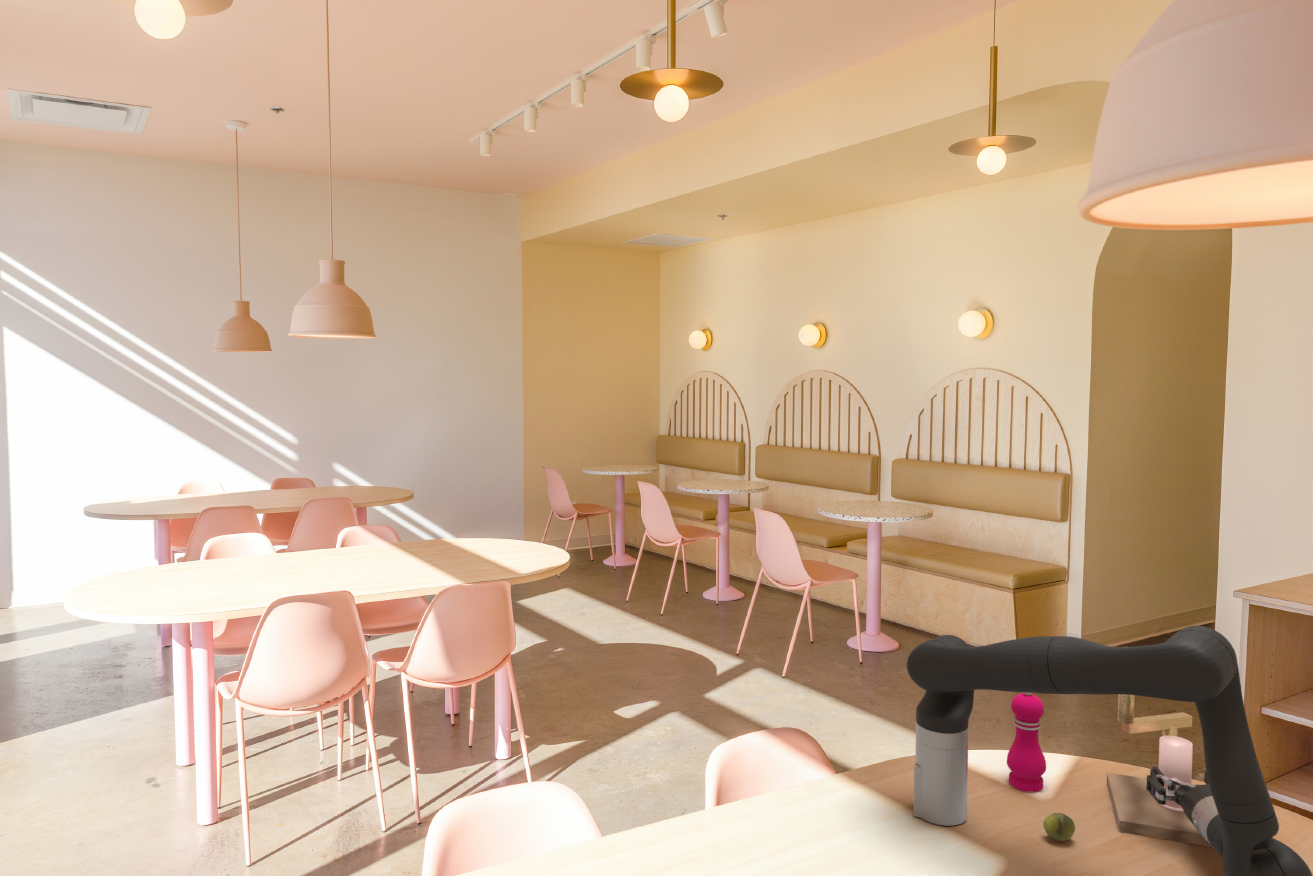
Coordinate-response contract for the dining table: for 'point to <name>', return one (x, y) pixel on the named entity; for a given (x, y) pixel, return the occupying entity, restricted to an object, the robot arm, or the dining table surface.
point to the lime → (1059, 826)
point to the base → (1148, 812)
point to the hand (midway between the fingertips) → (1180, 773)
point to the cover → (1175, 764)
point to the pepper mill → (1026, 744)
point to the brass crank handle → (1149, 719)
